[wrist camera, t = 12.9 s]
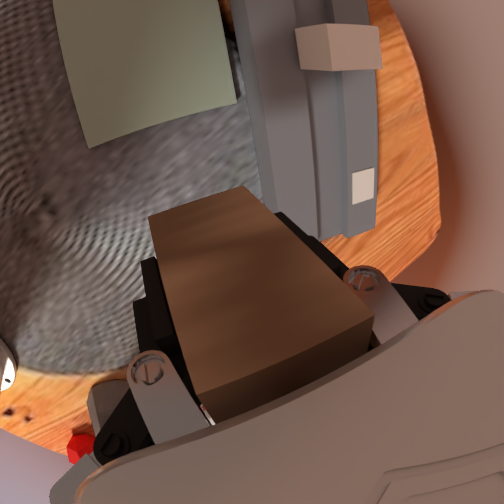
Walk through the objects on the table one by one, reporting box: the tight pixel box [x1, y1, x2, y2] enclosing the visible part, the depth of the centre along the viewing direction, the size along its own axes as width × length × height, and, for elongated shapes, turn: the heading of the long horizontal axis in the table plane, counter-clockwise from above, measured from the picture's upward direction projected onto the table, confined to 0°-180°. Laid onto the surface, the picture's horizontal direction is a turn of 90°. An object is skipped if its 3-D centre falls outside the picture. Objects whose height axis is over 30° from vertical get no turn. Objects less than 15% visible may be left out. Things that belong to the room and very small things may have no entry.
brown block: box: [148, 186, 375, 424], centre depth 9 cm, size 4×4×12 cm
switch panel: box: [229, 0, 378, 242], centre depth 22 cm, size 10×24×3 cm, turn 9°
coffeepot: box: [87, 380, 130, 436], centre depth 26 cm, size 15×9×18 cm, turn 169°
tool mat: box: [52, 0, 237, 149], centre depth 16 cm, size 11×13×1 cm
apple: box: [67, 434, 95, 465], centre depth 34 cm, size 7×7×8 cm
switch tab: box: [295, 23, 382, 71], centre depth 17 cm, size 4×3×5 cm
